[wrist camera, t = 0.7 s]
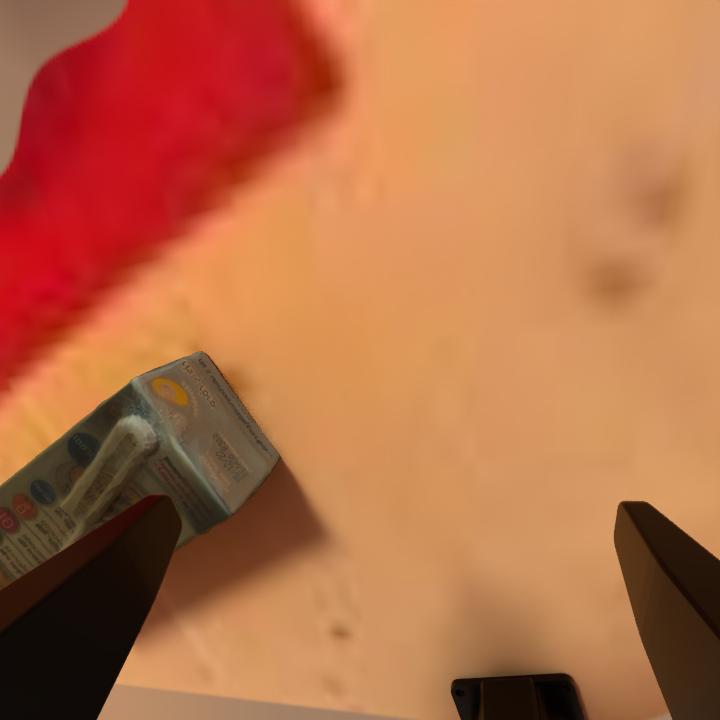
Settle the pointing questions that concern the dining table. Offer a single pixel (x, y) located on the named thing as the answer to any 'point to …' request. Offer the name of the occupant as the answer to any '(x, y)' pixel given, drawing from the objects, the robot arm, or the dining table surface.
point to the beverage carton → (137, 464)
